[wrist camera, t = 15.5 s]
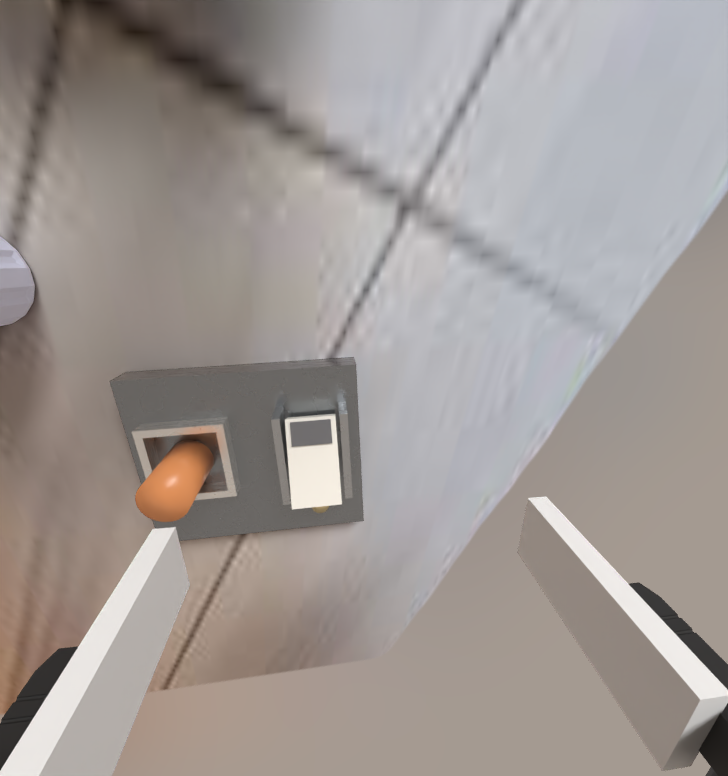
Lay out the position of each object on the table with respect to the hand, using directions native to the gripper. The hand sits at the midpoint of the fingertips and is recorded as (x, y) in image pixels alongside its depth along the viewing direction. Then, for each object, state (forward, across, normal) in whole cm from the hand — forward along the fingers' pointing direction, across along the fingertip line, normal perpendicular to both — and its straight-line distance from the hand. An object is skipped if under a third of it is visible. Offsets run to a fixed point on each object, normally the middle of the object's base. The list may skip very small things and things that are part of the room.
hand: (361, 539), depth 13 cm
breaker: (+21, -3, -9) cm, 23 cm away
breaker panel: (+27, -10, -11) cm, 30 cm away
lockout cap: (+24, -16, -10) cm, 30 cm away
